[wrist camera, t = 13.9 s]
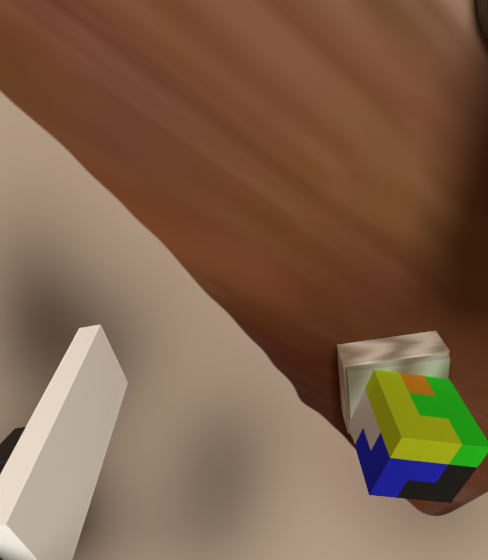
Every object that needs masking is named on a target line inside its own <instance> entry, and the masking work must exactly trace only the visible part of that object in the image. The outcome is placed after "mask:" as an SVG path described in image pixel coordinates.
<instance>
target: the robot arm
mask: <svg viewBox="0 0 488 560" xmlns="http://www.w3.org/2000/svg"><path fill="white" fill-rule="evenodd" d="M476 8H477V14H478V19H479V22H480V26H481V28H482V31H483V33H484V35H485V37H486V39H487V40H488V0H476ZM127 384H128V382H127V380H126V378H125V375H124V373H123V371H122V369H121V367H120V365H119V363H118V361H117V358H116V356H115V354H114V352H113V350H112V348H111V346H110V343H109V341H108V339H107V337H106V335H105V333H104V331H103V328H102V327H101V325H95V326H90V327H85V328H79V330H78V332H77V333H76V335H75V337H74V339H73V341H72V343H71V345H70V347H69V348H68V350H67V352H66V354H65V356H64V358H63V360H62V361H61V363H60V365H59V367H58V369H57V371H56V372H55V374H54V376H53V378H52V380H51V382H50V383H49V385H48V387H47V389H46V391H45V393H44V395H43V397H42V398H41V400H40V402H39V404H38V406H37V407H36V409H35V411H34V413H33V415H32V417H31V419H30V421H29V422H28V424H27V426H26V427H22V428H17V429H14V430H13V431H12V432H11V434H9V436H8V437H7V438H6V439H5V440H4V441H3V442H2V443H1V444H0V560H72V559H73V556H74V552H75V549H76V546H77V543H78V540H79V536H80V533H81V530H82V527H83V524H84V521H85V517H86V514H87V511H88V508H89V505H90V502H91V499H92V495H93V492H94V489H95V486H96V483H97V480H98V476H99V473H100V470H101V467H102V464H103V460H104V457H105V454H106V451H107V448H108V444H109V441H110V438H111V435H112V432H113V429H114V426H115V422H116V419H117V416H118V413H119V410H120V407H121V403H122V400H123V397H124V394H125V390H126V388H127Z"/></svg>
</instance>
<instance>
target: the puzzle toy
mask: <svg viewBox="0 0 488 560" xmlns="http://www.w3.org/2000/svg"><path fill="white" fill-rule="evenodd" d="M349 426H350V430H351V433H352V437H353V440H354V444H355V447H356V451H357V454H358V457H359V461H360V464H361V468H362V471H363V475H364V478H365V482H366V485H367V488H368V492H369V495H376V496H386V497H396V498H406V499H417V500H427V501H437V502H447V503H451V502H452V500H453V499H454V498H455V496H456V495H457V494H458V492H459V491H460V490H461V488H462V487H463V486H464V484H465V483H466V482H467V480H468V479H469V478H470V476H471V475H472V474H473V472H474V471H475V470H476V468H477V467H478V466H479V464H480V463H481V462H482V460H483V459H484V458H485V456H486V455H487V454H488V441H487V439H486V437H485V436H484V434H483V433H482V431H481V429H480V428H479V426H478V425H477V423H476V421H475V420H474V418H473V416H472V415H471V413H470V412H469V410H468V408H467V407H466V405H465V404H464V402H463V400H462V399H461V397H460V395H459V394H458V392H457V391H456V389H455V387H454V386H453V384H452V383H451V381H450V379H444V378H436V377H429V376H421V375H413V374H406V373H398V372H391V371H383V370H376V369H374V370H373V372H372V374H371V377H370V379H369V381H368V383H367V385H366V387H365V390H364V392H363V394H362V396H361V398H360V401H359V403H358V405H357V407H356V409H355V412H354V414H353V416H352V418H351V420H350V422H349Z"/></svg>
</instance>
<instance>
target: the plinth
mask: <svg viewBox="0 0 488 560" xmlns="http://www.w3.org/2000/svg"><path fill="white" fill-rule="evenodd" d="M337 355H338V369H339V382H340V395H341V408H342V414H343V418H344V421H345V425H346V428H347V432H348V434H349V433H350V434H351V437H352V433H351V430H350V426H349V422H350V420H351V418H352V416H353V414H354V412H355V409H356V407H357V405H358V403H359V401H360V398H361V396H362V394H363V392H364V390H365V387H366V385H367V383H368V381H369V379H370V377H371V374H372V372H373V370H374V369H376V370H383V371H391V372H398V373H406V374H413V375H421V376H429V377H436V378H444V379H448V375H449V366H450V357H449V349H448V348H447V346H446V345H445V343H444V342H443V340H442V339H441V337H440V336H439V335H438V333H437V332H436V331H430V332H423V333H416V334H409V335H402V336H395V337H388V338H381V339H374V340H367V341H360V342H353V343H346V344H339V345H337ZM352 438H353V437H352Z"/></svg>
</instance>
